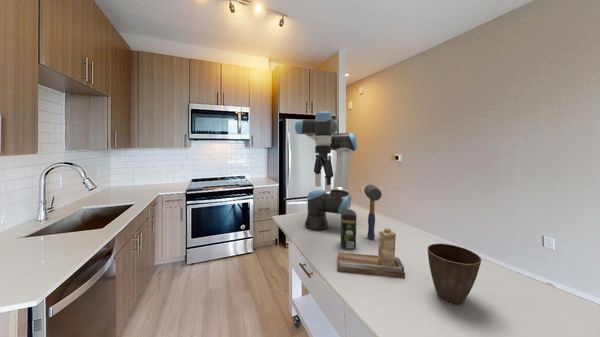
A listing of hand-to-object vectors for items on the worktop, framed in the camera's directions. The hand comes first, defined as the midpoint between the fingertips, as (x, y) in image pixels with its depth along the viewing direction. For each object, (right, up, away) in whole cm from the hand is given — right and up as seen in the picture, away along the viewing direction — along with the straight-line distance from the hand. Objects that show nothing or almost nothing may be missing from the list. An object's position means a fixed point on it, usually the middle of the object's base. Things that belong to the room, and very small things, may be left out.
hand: (322, 189), depth 110 cm
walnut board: (+19, -32, -12) cm, 39 cm away
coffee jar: (+14, -30, +8) cm, 34 cm away
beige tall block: (+25, -30, -15) cm, 42 cm away
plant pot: (+40, -34, -33) cm, 62 cm away
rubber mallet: (+29, -30, +17) cm, 45 cm away
